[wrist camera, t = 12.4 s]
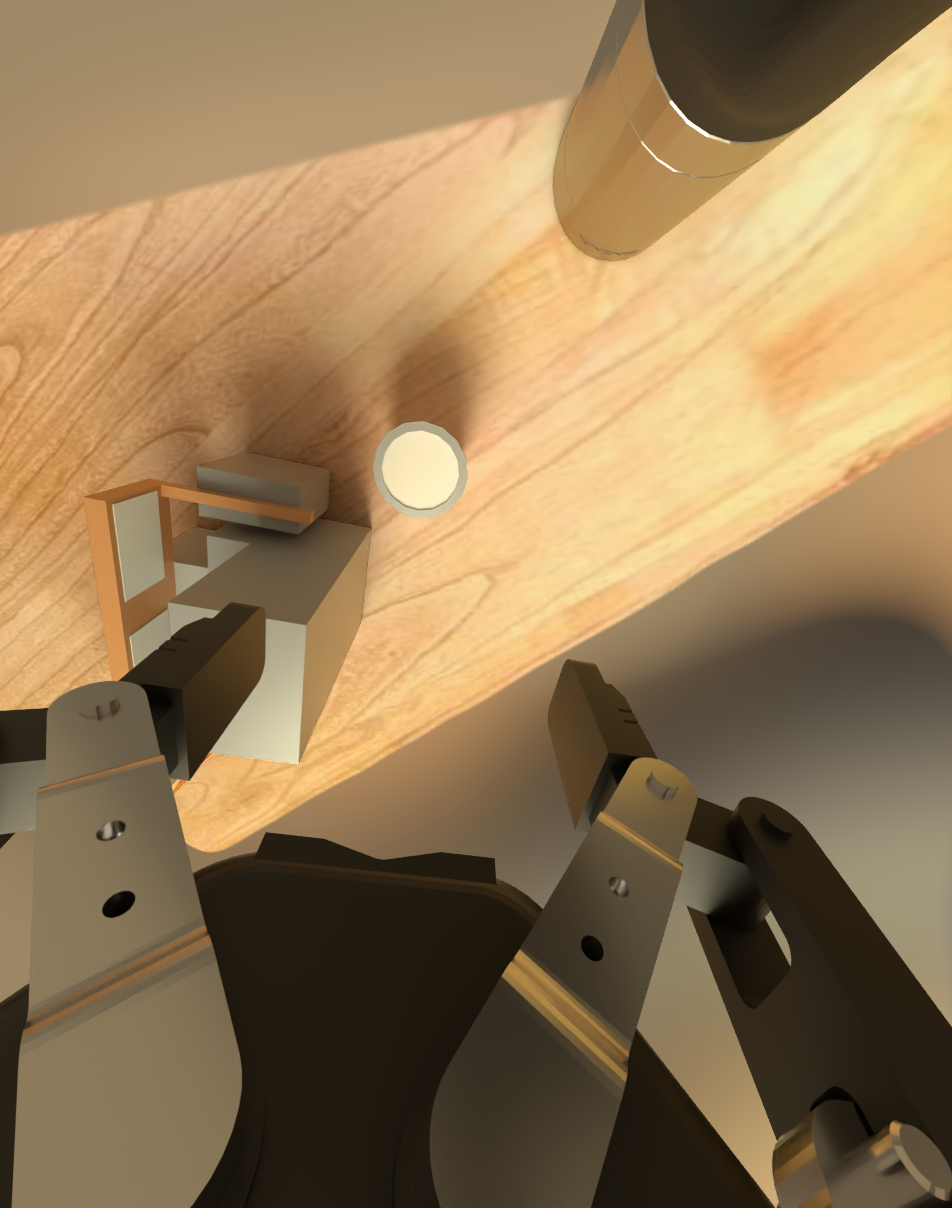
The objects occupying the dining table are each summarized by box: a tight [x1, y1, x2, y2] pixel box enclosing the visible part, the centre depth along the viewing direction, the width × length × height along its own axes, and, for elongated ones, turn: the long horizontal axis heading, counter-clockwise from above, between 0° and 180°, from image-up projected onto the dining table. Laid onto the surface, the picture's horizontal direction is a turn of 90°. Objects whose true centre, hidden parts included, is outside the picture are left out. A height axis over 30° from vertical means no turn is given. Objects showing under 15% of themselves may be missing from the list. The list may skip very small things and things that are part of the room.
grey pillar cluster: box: [168, 452, 372, 764], centre depth 34 cm, size 19×16×19 cm
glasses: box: [83, 479, 314, 681], centre depth 32 cm, size 16×11×6 cm
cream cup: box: [373, 421, 468, 518], centre depth 35 cm, size 7×7×7 cm
